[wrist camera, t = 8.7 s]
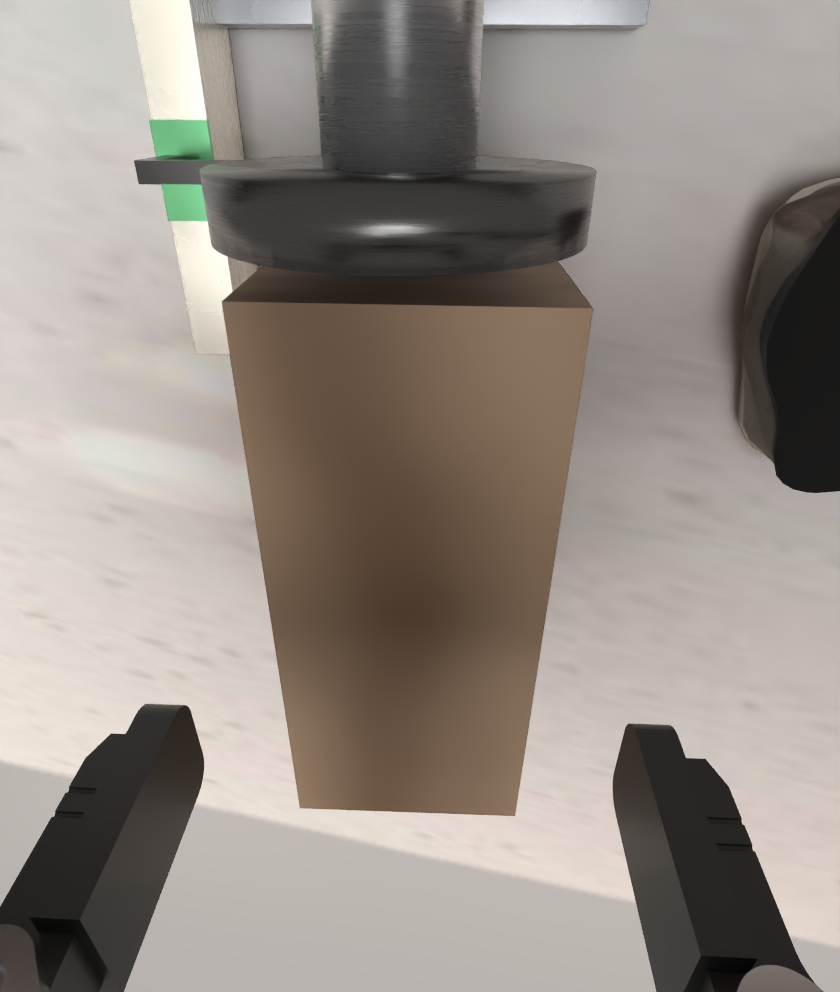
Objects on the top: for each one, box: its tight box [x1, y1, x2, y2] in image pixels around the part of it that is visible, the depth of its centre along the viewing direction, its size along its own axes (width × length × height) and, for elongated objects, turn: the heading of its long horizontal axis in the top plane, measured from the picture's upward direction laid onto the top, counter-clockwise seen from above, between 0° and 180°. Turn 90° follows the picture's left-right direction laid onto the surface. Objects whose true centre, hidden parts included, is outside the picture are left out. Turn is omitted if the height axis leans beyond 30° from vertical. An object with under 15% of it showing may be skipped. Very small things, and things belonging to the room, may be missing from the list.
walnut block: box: [222, 261, 593, 816], centre depth 17 cm, size 6×14×8 cm, turn 179°
